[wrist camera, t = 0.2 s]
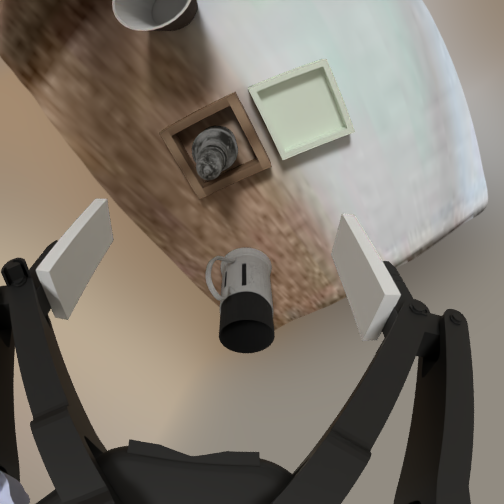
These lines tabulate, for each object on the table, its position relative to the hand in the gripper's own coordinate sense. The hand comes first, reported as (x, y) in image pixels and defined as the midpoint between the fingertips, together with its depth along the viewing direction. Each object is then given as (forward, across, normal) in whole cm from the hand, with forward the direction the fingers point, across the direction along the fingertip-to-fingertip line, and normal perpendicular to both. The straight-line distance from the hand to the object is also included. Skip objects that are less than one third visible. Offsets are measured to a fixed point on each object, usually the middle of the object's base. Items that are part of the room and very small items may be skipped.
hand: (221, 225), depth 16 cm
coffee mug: (+27, -10, +19) cm, 34 cm away
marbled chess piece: (+27, -2, -2) cm, 27 cm away
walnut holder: (+27, -2, -2) cm, 27 cm away
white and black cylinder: (+27, +2, -21) cm, 35 cm away
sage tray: (+27, +8, +4) cm, 28 cm away
